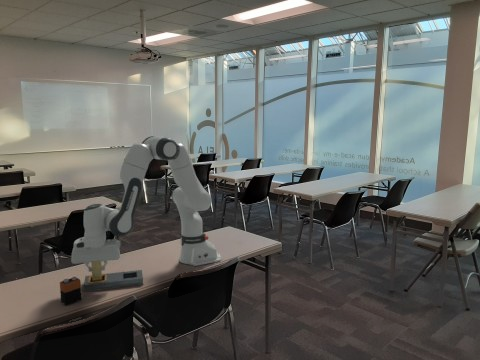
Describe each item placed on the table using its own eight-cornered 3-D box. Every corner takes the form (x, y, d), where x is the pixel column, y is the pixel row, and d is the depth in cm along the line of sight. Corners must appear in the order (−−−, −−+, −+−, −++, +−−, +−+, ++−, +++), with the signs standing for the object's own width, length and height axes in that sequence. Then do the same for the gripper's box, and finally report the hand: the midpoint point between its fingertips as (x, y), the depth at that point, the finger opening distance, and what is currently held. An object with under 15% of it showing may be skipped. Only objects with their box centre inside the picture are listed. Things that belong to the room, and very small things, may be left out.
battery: (60, 302, 152) (59, 279, 150) (76, 296, 157) (75, 274, 155) (65, 306, 149) (64, 282, 147) (82, 300, 154) (80, 277, 153)
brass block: (102, 276, 170) (101, 257, 168) (101, 280, 166) (101, 260, 165) (93, 277, 169) (91, 258, 167) (92, 281, 165) (91, 261, 163)
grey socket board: (142, 275, 178) (141, 269, 178) (143, 284, 169) (142, 277, 169) (85, 282, 171) (85, 275, 170) (83, 291, 162) (83, 284, 161)
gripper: (120, 236, 171) (121, 265, 173) (71, 240, 165) (73, 270, 167) (120, 240, 165) (121, 270, 167) (69, 245, 159) (71, 275, 161)
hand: (97, 270), depth 167 cm, fingers closed on brass block, 4 cm apart
